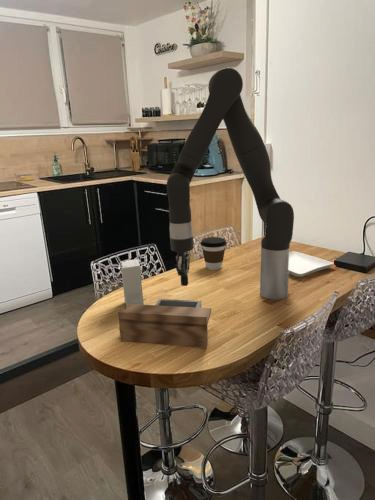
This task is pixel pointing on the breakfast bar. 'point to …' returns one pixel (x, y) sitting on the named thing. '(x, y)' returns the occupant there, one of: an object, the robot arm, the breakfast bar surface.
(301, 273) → the salad plate
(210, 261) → the coffee cup
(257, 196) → the robot arm
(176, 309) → the walnut cantilever shelf
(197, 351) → the breakfast bar surface
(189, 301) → the slate tray
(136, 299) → the skincare box
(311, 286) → the breakfast bar surface
